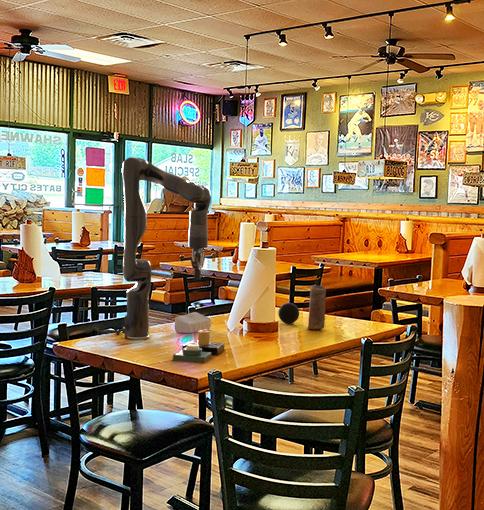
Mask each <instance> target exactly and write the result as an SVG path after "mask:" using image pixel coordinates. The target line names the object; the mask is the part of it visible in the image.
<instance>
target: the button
mask: <svg viewBox="0 0 484 510" xmlns="http://www.w3.org/2000/svg"><path fill="white" fill-rule="evenodd" d="M187 350H198V345H197V344H188V345H187Z"/></svg>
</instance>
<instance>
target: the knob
mask: <svg viewBox="0 0 484 510" xmlns="http://www.w3.org/2000/svg"><path fill="white" fill-rule="evenodd" d="M210 333H211V332H210V330H200V331H198V332H197V341H198V344H199V345H209V342H210V338H211V337H210Z"/></svg>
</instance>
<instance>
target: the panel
mask: <svg viewBox="0 0 484 510" xmlns="http://www.w3.org/2000/svg"><path fill="white" fill-rule="evenodd" d="M188 344H197V345H198V347H199V348H202V352H212V355H211V356H216V357H218V356H219V355H221V354H222V353H223V352H224V351H225V345H226V344H225V342H215V341H209V345H199V344H198V340H189V341H187V342H185V343H184V344H182V346H181V350H183V348H186V347H187V345H188Z"/></svg>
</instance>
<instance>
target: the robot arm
mask: <svg viewBox="0 0 484 510" xmlns="http://www.w3.org/2000/svg"><path fill="white" fill-rule="evenodd" d="M121 173H122V183H123V184H122V185H123V195H124V196H123V198H124V199H123V200H124V201H123V202H124V212H123V213H124V217H123V218H124V221H123V223H124V224H123V225H124V245H123V246H124V249H123V257H122V258H123V259H122V260H123V261H122V275H123V278H124V280H125V281H126V282H128V283H134V282H135V285H134V286H133V287H131V288H129V289H127V291H126V315H124V326H123V327H121V328H119V329H112V330H106V331H101V330H99V328H97V330H95V329H94V328H93V329H92V330H91V331H92V332H97V333H98V334H103V335H105V334H106V335H107V334H112V333H116V335H118V336H119V335H120V334H121V333H122V334H124V339H128V340H133V341H143V340H147V339H149V338H150V335H149V334H150V333H149V331H150V330H149V329H150V324H149V323H150V321H149V319H150V292H151V283H152V266H151V262H150V261H149V260H148V259H146V258H137V250H138V246H139V244H140V242H141V240H142V238H143V237H144V235H145V233H146V231H147V228H148V212H147V209H146V206H145V202H144V201H143V198H142V196H141V191H140V181H145V182H151V183H154V184H156V185H158V186H159V187H161V188H162V189H164V190H165V191H167V192H170V193H172V194H174V195H177V196H179V197H181V198H183V199H184V200H186V201H188V202H190V203H193V204H194V208H193V209H191V210H190V211H189V226H188V227H189V228H188V247H189V248H191V249H192V252H191V256H190V257H189V259H190V263H191V268H192V269H193V270H194V277H193V278H194V279H195V280H201V278H202V269H203V268H204V264H205V261H206V254H205V252H204V249H207V248H208V245H209V242H208V241H209V240H208V239H209V236H208V235H209V234H208V233H209V228H208V213H209V209H210V206H211V205H210V204H211V201H212V192H211V190H210V188H209V187H208V186H206V185H203V184H202V185H201V184H195V183H192V182H190V181H189V180H188V179H186V178H184V177H181V176H179V175H176V174H173V173H170V172H168V171H165V170H163V169H162V168H159V167H158V166H155V164H152V163H151V162H149V161H148V160H146V159H144V158H141V157H133V156H130V157H126V159H125V160H124V161H123V163H122V168H121Z"/></svg>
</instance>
